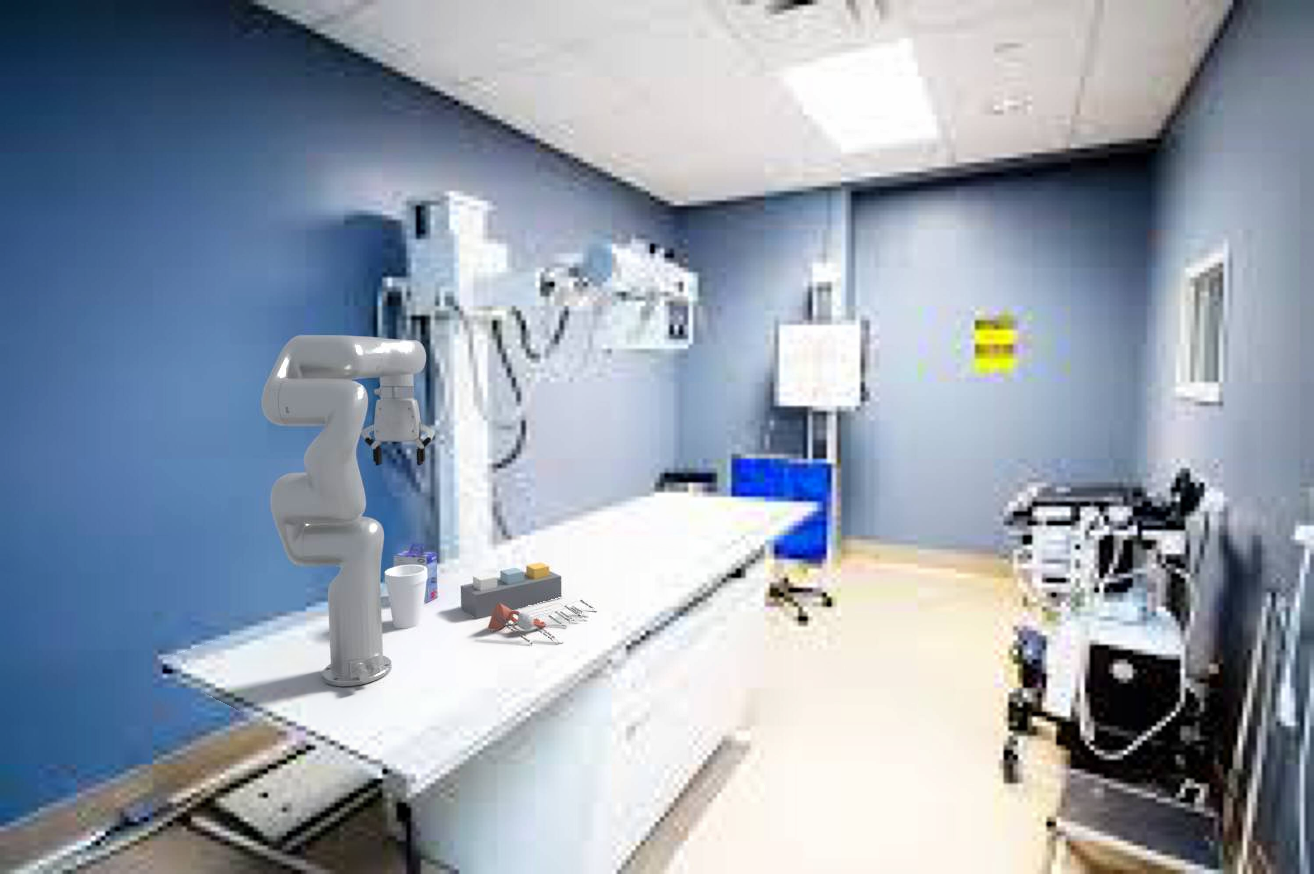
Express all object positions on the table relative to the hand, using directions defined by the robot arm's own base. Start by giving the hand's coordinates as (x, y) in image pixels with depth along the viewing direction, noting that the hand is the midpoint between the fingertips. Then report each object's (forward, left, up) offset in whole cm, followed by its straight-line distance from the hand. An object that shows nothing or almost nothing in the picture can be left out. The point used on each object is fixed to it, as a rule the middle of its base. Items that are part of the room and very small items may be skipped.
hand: (399, 464), depth 164 cm
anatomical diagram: (-28, -25, -38) cm, 54 cm away
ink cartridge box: (+9, -6, -38) cm, 39 cm away
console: (-10, -24, -37) cm, 46 cm away
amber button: (-10, -32, -33) cm, 47 cm away
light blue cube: (-10, -24, -33) cm, 42 cm away
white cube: (-10, -17, -33) cm, 38 cm away
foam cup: (-7, +2, -38) cm, 38 cm away
